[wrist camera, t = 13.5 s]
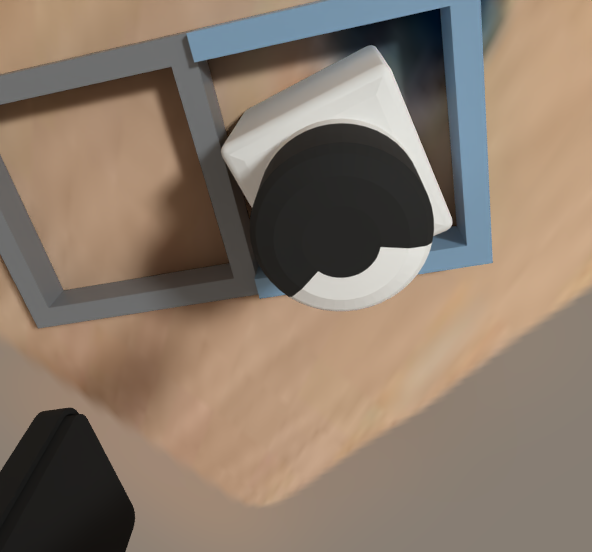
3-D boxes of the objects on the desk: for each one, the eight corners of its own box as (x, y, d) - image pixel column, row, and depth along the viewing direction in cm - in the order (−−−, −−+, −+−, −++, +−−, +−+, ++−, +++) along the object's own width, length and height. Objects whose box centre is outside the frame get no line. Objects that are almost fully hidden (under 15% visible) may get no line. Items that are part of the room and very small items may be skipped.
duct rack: (-56, 87, 28) (-89, 96, 25) (465, -33, 24) (478, -35, 22) (53, 310, 34) (34, 333, 31) (480, 242, 30) (492, 262, 28)
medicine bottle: (241, 111, 27) (186, 193, 17) (373, 41, 26) (405, 85, 15) (305, 229, 30) (292, 363, 20) (429, 174, 28) (487, 289, 18)
